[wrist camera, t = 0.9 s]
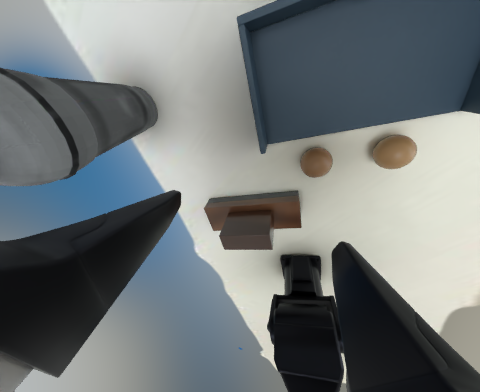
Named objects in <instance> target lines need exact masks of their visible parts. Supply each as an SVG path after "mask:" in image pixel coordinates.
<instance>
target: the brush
mask: <svg viewBox="0 0 480 392" xmlns="http://www.w3.org/2000/svg"><path fill="white" fill-rule="evenodd" d="M204 210H205V212H206V214H207V217H208V219H209V222H210V224H211V226H212V229H213V231H220V230H221V233H220V235H219V237H220V239H221V242H222V244H223V247H224V249H225V250H272V249H273V232H274V229H281V228H301V215H300V201H299V194H298V191H289V192H278V193H267V194H256V195H245V196H235V197H224V198H213V199H209V201H208V203H207V204H206V206H205V207H204Z"/></svg>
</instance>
